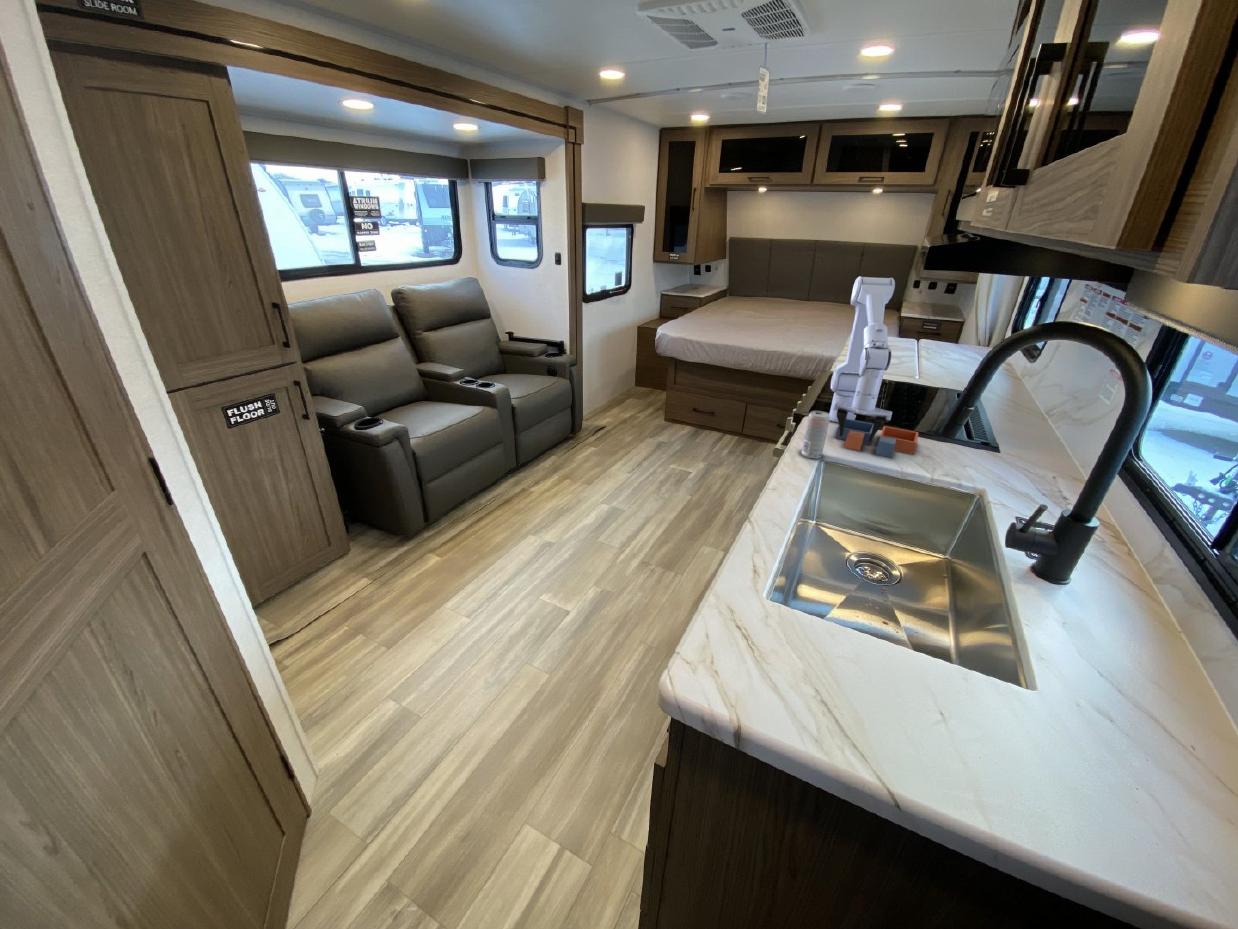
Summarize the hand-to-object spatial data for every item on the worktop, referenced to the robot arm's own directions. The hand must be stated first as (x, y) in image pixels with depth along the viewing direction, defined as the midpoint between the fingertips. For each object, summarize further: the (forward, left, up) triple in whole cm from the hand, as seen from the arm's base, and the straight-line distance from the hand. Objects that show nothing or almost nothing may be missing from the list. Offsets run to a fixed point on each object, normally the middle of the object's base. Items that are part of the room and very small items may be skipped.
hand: (855, 438), depth 140 cm
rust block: (0, 0, -3) cm, 3 cm away
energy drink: (+12, -9, -3) cm, 16 cm away
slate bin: (-9, -1, -3) cm, 9 cm away
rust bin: (-9, +10, -3) cm, 14 cm away
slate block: (0, +8, -3) cm, 8 cm away
